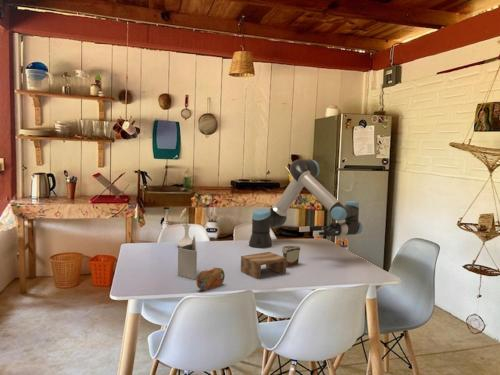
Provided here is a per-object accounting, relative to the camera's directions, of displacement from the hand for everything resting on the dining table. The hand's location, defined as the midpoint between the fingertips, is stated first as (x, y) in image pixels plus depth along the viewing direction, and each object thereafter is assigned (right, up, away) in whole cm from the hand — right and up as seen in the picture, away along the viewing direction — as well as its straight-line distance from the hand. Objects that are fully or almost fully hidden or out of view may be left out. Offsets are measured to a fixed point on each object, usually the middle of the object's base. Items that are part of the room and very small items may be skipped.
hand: (306, 231), depth 219 cm
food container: (-10, -18, -2) cm, 21 cm away
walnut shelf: (-24, -19, -17) cm, 35 cm away
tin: (-48, -21, -41) cm, 67 cm away
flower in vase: (-71, -13, +32) cm, 79 cm away
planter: (-62, -19, -24) cm, 69 cm away
